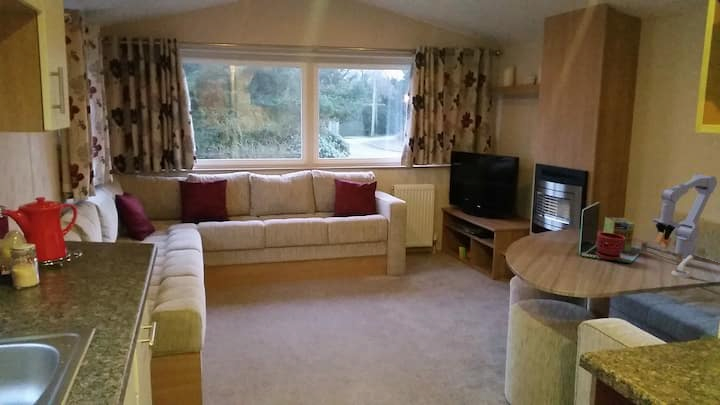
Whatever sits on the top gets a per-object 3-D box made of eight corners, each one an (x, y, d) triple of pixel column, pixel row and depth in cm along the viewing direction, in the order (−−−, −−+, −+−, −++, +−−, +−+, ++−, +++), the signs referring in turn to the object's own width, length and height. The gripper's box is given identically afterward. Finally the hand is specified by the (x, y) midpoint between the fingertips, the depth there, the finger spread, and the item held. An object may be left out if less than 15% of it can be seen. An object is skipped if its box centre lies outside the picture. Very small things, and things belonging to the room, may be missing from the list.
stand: (645, 251, 288) (647, 241, 287) (684, 263, 268) (685, 253, 267) (638, 252, 286) (639, 242, 285) (676, 264, 266) (677, 254, 265)
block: (662, 247, 278) (667, 237, 278) (666, 248, 276) (671, 238, 276) (654, 241, 275) (659, 231, 275) (658, 243, 272) (663, 233, 272)
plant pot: (611, 262, 264) (614, 239, 262) (589, 255, 276) (592, 232, 274) (628, 260, 270) (631, 237, 268) (606, 252, 282) (609, 231, 280)
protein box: (610, 250, 287) (614, 222, 284) (601, 243, 302) (605, 216, 299) (630, 252, 286) (635, 224, 283) (620, 244, 301) (624, 217, 298)
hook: (706, 267, 245) (697, 260, 243) (685, 285, 248) (677, 278, 246) (695, 259, 252) (687, 252, 250) (675, 277, 255) (667, 269, 253)
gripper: (649, 210, 277) (645, 235, 280) (675, 216, 264) (671, 242, 267) (659, 209, 280) (655, 234, 283) (685, 215, 267) (680, 241, 270)
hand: (663, 238), depth 275 cm, fingers closed on block, 3 cm apart
